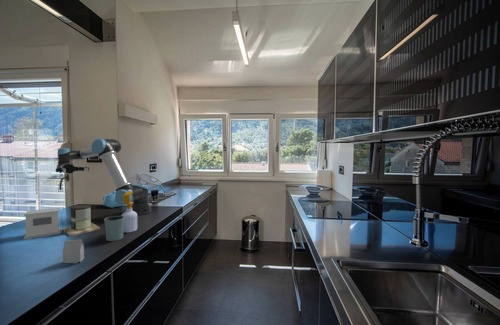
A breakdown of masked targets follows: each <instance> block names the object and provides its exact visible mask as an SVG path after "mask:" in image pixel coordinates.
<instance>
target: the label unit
mask: <svg viewBox="0 0 500 325" xmlns="http://www.w3.org/2000/svg"><path fill="white" fill-rule="evenodd" d="M60 209H61V208H60V207H54V208H53V207H51V208H44V209H33V210H32V209H31V210H27V211H26V212H25V213H24V214H23V215H24V217H25V234H24V236H23V240H24V241H27V240H32V238H33V239H38V237H39V238H44V237H45V236H46V237H51V236H56V235H58V236H59V235H61V233H62V227H60ZM26 239H27V240H26Z"/></svg>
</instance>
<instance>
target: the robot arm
mask: <svg viewBox="0 0 500 325" xmlns="http://www.w3.org/2000/svg"><path fill="white" fill-rule="evenodd" d="M121 150H122V144H121V142H120V141H119V140H117V139H112V138H95V139H94V140H93V141H92V143H91V147H88V148H84V149H79V150H71V149H70V148H68V147H67V148H66V147H65V148H63V147H59V148H58V149H57V165H56V168H55V172H56V173H59V174H62V173H63V174H66V175H67V174H69V175H70V174H73V173H74V172H79V171H81V172H89V171H90V167H89V166H88V167H87V166H75V165H74V164H71V160H72V161H73V160H74V161H75V160H76V161H77V160H81V161H82V160H86V159H87V158H93V157H99V159H100V160H102V161H103V163H104V164H105V167H106V168H107V170H108V172H109V175H110V176H111V179H112V181H113V183H114V184H115V191H116V193H115V199H116V201H117V202H118V203H119V204H122V206H125V205H126V206H127V204H124V203H123V195H124V194H125V193H126V192H133V193H132V194H131V195H130V202H134V203H132V205H131V207H132V211H134V212H136V213H137V216H142V215H147V214H150V213H151V212H152V211H151V207H150V203H149V186H148V185H147V184H132V183H131V182H129V180H128V178H127V176H126V174H125V173H124V170H123V168H122V167H121V164H120V162H119V161H118V158H117V156H116V154H118V153H120V151H121Z"/></svg>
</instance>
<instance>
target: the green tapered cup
mask: <svg viewBox="0 0 500 325" xmlns="http://www.w3.org/2000/svg"><path fill="white" fill-rule="evenodd" d="M103 221H104V228H105V231H104V232H105V239H106V241H107V242H116V241H119V240H120V241H121V240H122V239H123V238H124V232H123V229H124V216H121V215H112V216H107V217H105V218H104V220H103Z"/></svg>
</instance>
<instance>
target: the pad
mask: <svg viewBox="0 0 500 325" xmlns="http://www.w3.org/2000/svg"><path fill="white" fill-rule="evenodd" d="M99 230H101V227H100V226H98V225H97V224H95V223H93V222H91V227H90V228H88V229H85V230H80V231H72V230H71V226H69V227H64V228H63V227H61V231H63V232H64V233H65V234H66V235H67V236H68V237H71V236H72V237H73V236H78V235H81V234H85V233H90V232H94V231H99Z"/></svg>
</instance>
